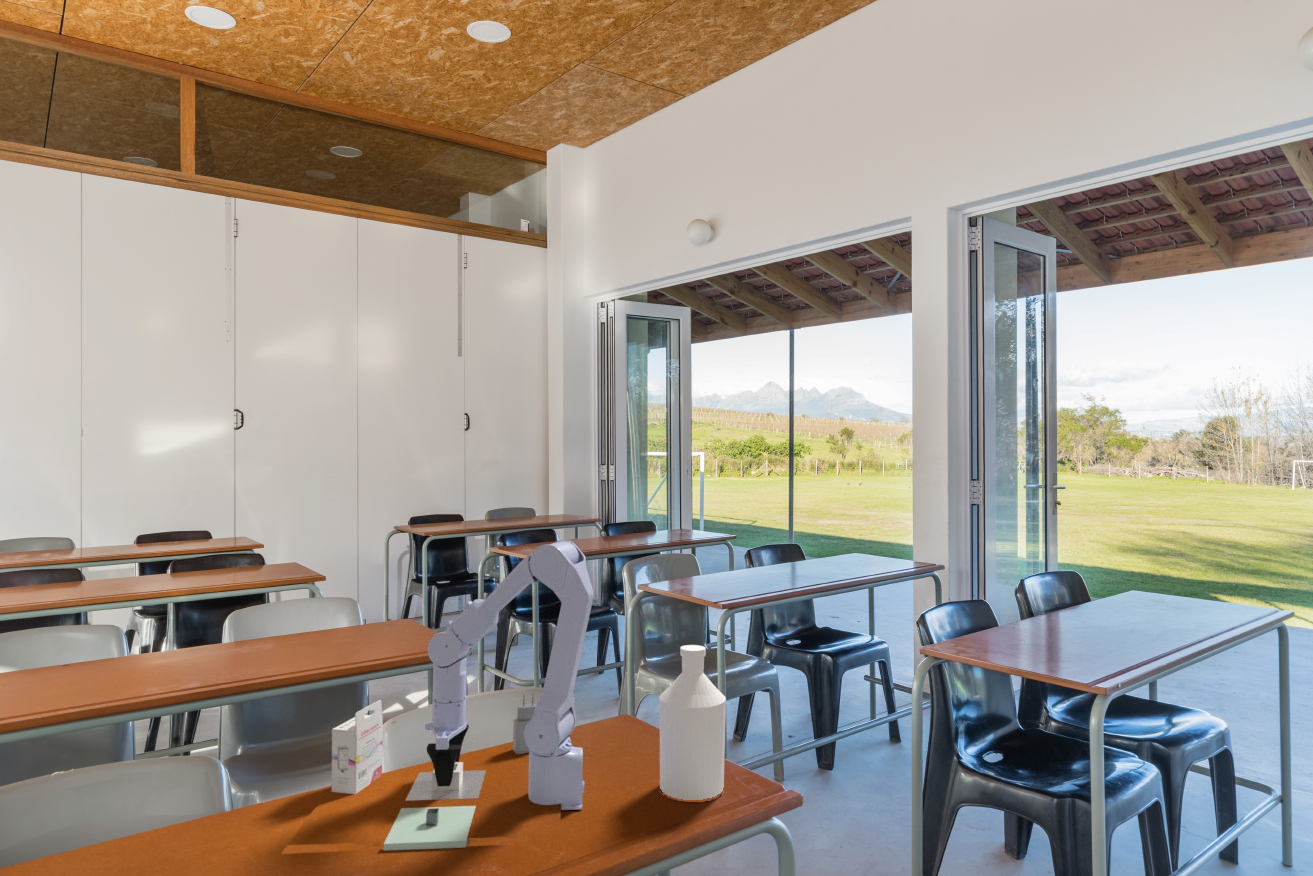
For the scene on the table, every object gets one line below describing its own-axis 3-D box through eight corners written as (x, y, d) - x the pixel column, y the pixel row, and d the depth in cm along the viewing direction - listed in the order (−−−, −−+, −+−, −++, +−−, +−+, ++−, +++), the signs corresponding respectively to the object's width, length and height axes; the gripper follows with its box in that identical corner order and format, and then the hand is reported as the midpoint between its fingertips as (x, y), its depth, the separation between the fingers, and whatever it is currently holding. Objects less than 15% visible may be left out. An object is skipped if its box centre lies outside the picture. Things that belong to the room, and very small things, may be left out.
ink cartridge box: (357, 778, 142) (359, 696, 142) (382, 780, 141) (384, 698, 141) (329, 797, 134) (331, 711, 134) (355, 800, 133) (357, 713, 133)
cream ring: (462, 779, 140) (463, 762, 140) (459, 789, 135) (459, 772, 135) (436, 779, 139) (436, 762, 139) (431, 790, 134) (432, 772, 135)
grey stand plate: (485, 775, 144) (486, 759, 144) (478, 804, 132) (478, 786, 132) (419, 777, 142) (419, 761, 142) (405, 806, 130) (405, 788, 130)
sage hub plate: (475, 811, 129) (476, 793, 129) (465, 847, 117) (466, 827, 117) (401, 814, 127) (401, 796, 127) (383, 850, 115) (383, 830, 116)
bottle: (646, 783, 141) (648, 644, 142) (701, 771, 147) (702, 638, 148) (680, 809, 130) (682, 659, 131) (738, 795, 136) (739, 651, 137)
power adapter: (511, 754, 154) (512, 693, 155) (537, 750, 157) (539, 689, 157) (516, 759, 152) (517, 697, 152) (543, 755, 154) (544, 693, 155)
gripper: (433, 687, 144) (431, 761, 144) (417, 712, 130) (416, 794, 129) (472, 686, 145) (470, 760, 145) (461, 711, 131) (459, 793, 130)
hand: (447, 776), depth 137 cm, fingers open, 7 cm apart
